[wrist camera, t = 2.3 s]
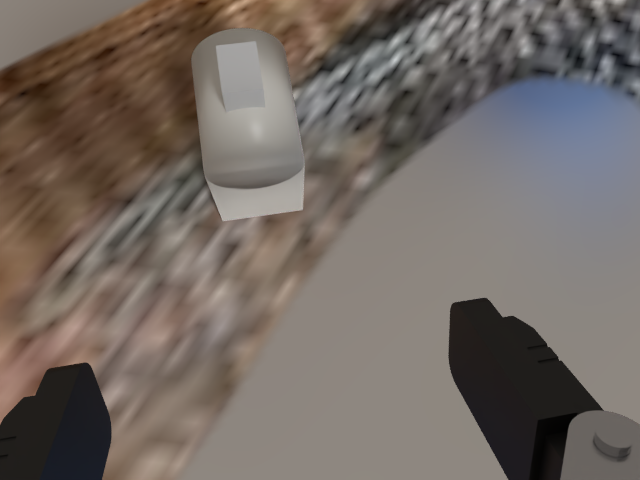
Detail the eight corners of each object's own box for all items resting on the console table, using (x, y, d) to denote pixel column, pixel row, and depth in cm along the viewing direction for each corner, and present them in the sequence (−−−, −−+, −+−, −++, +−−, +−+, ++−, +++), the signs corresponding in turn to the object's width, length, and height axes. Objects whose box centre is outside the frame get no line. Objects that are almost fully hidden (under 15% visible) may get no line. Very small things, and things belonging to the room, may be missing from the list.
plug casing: (287, 120, 31) (284, 2, 22) (302, 209, 29) (306, 122, 20) (211, 130, 30) (175, 14, 21) (222, 221, 29) (189, 137, 20)
